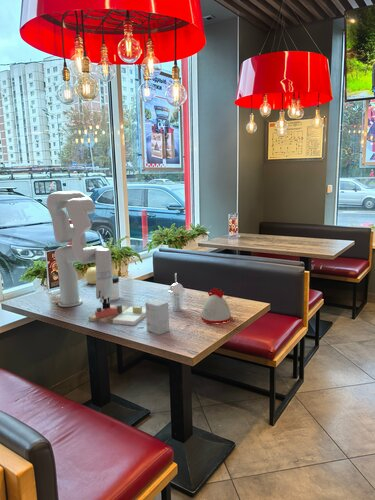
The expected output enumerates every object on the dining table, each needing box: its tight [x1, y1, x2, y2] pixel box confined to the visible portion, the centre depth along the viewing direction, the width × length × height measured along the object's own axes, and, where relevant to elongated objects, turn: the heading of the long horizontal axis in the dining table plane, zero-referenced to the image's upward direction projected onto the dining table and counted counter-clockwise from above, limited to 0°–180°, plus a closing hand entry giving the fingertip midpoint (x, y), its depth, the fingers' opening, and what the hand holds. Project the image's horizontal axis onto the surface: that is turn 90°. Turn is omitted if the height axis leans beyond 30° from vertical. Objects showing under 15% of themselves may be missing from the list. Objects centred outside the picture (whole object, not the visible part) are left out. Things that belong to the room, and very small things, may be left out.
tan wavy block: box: [88, 304, 130, 324], centre depth 189 cm, size 13×18×5 cm
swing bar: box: [94, 307, 118, 318], centre depth 184 cm, size 10×3×4 cm, turn 124°
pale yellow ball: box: [85, 265, 97, 285], centre depth 249 cm, size 12×12×11 cm
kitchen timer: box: [200, 287, 232, 324], centre depth 180 cm, size 14×14×15 cm
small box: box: [145, 298, 170, 336], centre depth 168 cm, size 8×6×13 cm
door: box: [112, 305, 146, 326], centre depth 186 cm, size 11×18×4 cm, turn 162°
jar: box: [110, 275, 121, 301], centre depth 216 cm, size 9×8×12 cm
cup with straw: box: [167, 272, 186, 312], centre depth 193 cm, size 8×9×20 cm
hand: (106, 310), depth 187 cm, fingers closed
